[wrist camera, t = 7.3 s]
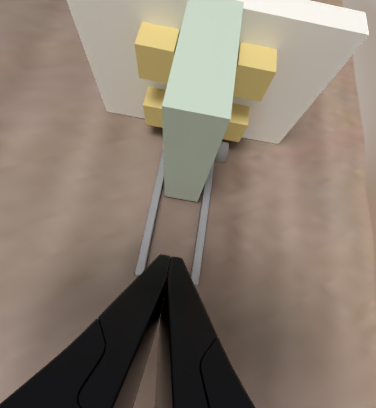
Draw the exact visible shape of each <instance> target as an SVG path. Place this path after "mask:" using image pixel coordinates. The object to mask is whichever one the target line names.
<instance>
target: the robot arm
mask: <svg viewBox="0 0 376 408" xmlns="http://www.w3.org/2000/svg"><path fill="white" fill-rule="evenodd" d="M170 259H171V260H170ZM168 270H169V271H168ZM167 276H168V277H167ZM166 281H167V282H166ZM165 287H166V288H165ZM163 298H164V299H163ZM162 304H163V305H162ZM161 309H162V310H161ZM160 314H161V317H160ZM159 319H160V328H159V345H158V362H157V379H156V397H155V408H255V406H254V404H253V403H252V401H251V399H250V398H249V396H248V394H247V392H246V391H245V389H244V387H243V385H242V384H241V382H240V380H239V378H238V376H237V375H236V373H235V371H234V369H233V367H232V365H231V363H230V361H229V359H228V357H227V355H226V353H225V351H224V349H223V346H222V344H221V342H220V340H219V338H217V333H216V331H215V329H214V327H213V325H212V323H211V320H210V318H209V316H208V314H207V312H206V309H205V307H204V305H203V303H202V301H201V298H200V296H199V294H198V292H197V290H196V287H195V285H194V283H193V281H192V279H191V276H190V274H189V272H188V270H187V268H186V266H185V263H184V261H183V259H182V258H179V257H173V256H172V257H170V256H167V255H159V256H158V257H157V258H156V259H155V260H154V261H153V262H152V263H151V264H150V265H149V266H148V267H147V268H146V269H145V270H144V271H143V272H142V273H141V274H140V275H139V276H138V277H137V278H136V279H135V280H134V281H133V282H132V283H131V284H130V285H129V286H128V287H127V288H126V289H125V290H124V291H123V292H122V293H121V294H120V295H119V296H118V298H117V299H116V300H115V301H114V302H113V303H112V304H111V305H110V306H109V307H108V308H107V309H106V310H105V311H104V312H103V313H102V314H101V315H100V316H99V317H98V319H96V320H95V321H94V322H93V323H92V324H91V325H90V326H89V327H88V328H87V329H86V330H85V331H84V332H83V333H82V334H81V335H80V336H79V337H78V338H77V339H75V340H74V341H73V342H72V343H71V344H70V345H69V346H68V347H67V348H66V349H65V350H63V351H62V352H61V353H60V354H59V355H58V356H57V357H55V358H54V359H53V360H52V361H51V362H50V363H48V364H47V365H46V366H45V367H44V368H42V369H41V370H40V371H39V372H38V373H36V374H35V375H34V376H33V377H32V378H30V379H29V380H28V381H27V382H26V383H25V384H23V385H22V386H21V387H20V388H19V389H17V390H16V391H15V392H14V393H13V394H11V395H10V396H9V397H8V398H7V399H5V400H4V401H3V402H2V403H1V404H0V408H133V405H134V402H135V399H136V395H137V392H138V389H139V386H140V382H141V379H142V376H143V372H144V369H145V366H146V363H147V359H148V356H149V353H150V349H151V346H152V343H153V339H154V336H155V333H156V330H157V326H158V323H159Z"/></svg>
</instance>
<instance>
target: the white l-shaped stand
mask: <svg viewBox="0 0 376 408" xmlns="http://www.w3.org/2000/svg"><path fill="white" fill-rule="evenodd" d="M236 1H241V2H244V5H243V14H242V23H241V31H240V40H239V49H238V58H237V67H236V75H235V84H234V93H233V102H232V111H231V119H230V122H229V124H228V127H227V129H226V132H225V134H224V137H223V139H225V140H230V141H235V142H240V140H241V138H242V137H243V138H248V139H253V140H258V141H264V142H269V143H274V144H279V143H280V142H281V140H282V139H283V138H284V137H285V136H286V134H287V133H288V132H289V131H290V130H291V128H292V127H293V126H294V125H295V124H296V122H297V121H298V120H299V119H300V117H301V116H302V115H303V114H304V113H305V111H306V110H307V109H308V108H309V107H310V105H311V104H312V103H313V102H314V101H315V99H316V98H317V97H318V96H319V95H320V93H321V92H322V91H323V90H324V89H325V87H326V86H327V85H328V84H329V83H330V81H331V80H332V79H333V78H334V77H335V75H336V74H337V73H338V72H339V71H340V69H341V68H342V67H343V66H344V65H345V63H346V62H347V61H348V60H349V59H350V57H351V56H352V55H353V54H354V52H355V51H356V50H357V49H358V48H359V47H360V45H361V44H362V43H363V42H364V41H365V39H366V38H367V37H368V36H369V32H368V26H367V19H366V13H365V12H361V11H356V10H351V9H347V8H342V7H338V6H333V5H328V4H324V3H319V2H314V1H310V0H236ZM187 2H188V0H67V3H68V6H69V8H70V11H71V14H72V17H73V19H74V22H75V25H76V28H77V31H78V33H79V36H80V39H81V42H82V44H83V47H84V50H85V53H86V55H87V58H88V61H89V64H90V66H91V69H92V72H93V75H94V77H95V80H96V83H97V86H98V89H99V91H100V94H101V97H102V100H103V102H104V105H105V108H106V111H107V112H111V113H117V114H122V115H127V116H132V117H138V118H143V119H145V123H146V125H151V126H156V127H162V128H163V124H162V104H163V100H164V96H165V92H166V88H167V83H168V79H169V75H170V71H171V67H172V63H173V59H174V55H175V51H176V47H177V43H178V39H179V35H180V30H181V26H182V22H183V18H184V14H185V10H186V6H187ZM214 163H215V162H213V164H212V167H211V169H210V172H209V174H208V177H207V179H206V182H205V184H204V189H203V196H202V203H201V209H200V216H199V223H198V230H197V237H196V244H195V251H194V258H193V265H192V272H191V279H192V281H193V283H194V285H198V284H199V276H200V269H201V261H202V254H203V246H204V239H205V231H206V223H207V216H208V208H209V201H210V193H211V186H212V178H213V170H214ZM163 182H164V158H163V151H162V156H161V160H160V165H159V169H158V174H157V178H156V182H155V187H154V191H153V196H152V200H151V205H150V209H149V214H148V218H147V222H146V227H145V231H144V236H143V240H142V245H141V249H140V253H139V258H138V262H137V267H136V271H135V275H140V274H141V273H142V272H143V271H144V270H145V266H146V262H147V257H148V252H149V248H150V243H151V238H152V234H153V229H154V224H155V219H156V215H157V210H158V205H159V201H160V196H161V191H162V186H163Z"/></svg>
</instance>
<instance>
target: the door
mask: <svg viewBox="0 0 376 408" xmlns="http://www.w3.org/2000/svg"><path fill="white" fill-rule="evenodd" d="M243 5H244V2H241V1H236V0H188V2H187V6H186V10H185V14H184V18H183V22H182V26H181V30H180V35H179V39H178V43H177V47H176V51H175V55H174V59H173V63H172V67H171V71H170V75H169V79H168V83H167V88H166V92H165V96H164V100H163V104H162V124H163V158H164V191H165V196H167V197H172V198H178V199H183V200H189V201H195V202H198V199H199V197H200V194H201V192H202V189H203V187H204V184H205V182H206V179H207V177H208V174H209V172H210V169H211V167H212V164H213V162H219V163H225V161H226V159H227V155H228V150H229V143H227V142H222V139H223V137H224V134H225V132H226V129H227V127H228V124H229V122H230V119H231V111H232V102H233V93H234V84H235V75H236V67H237V58H238V49H239V40H240V31H241V23H242V14H243Z"/></svg>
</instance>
